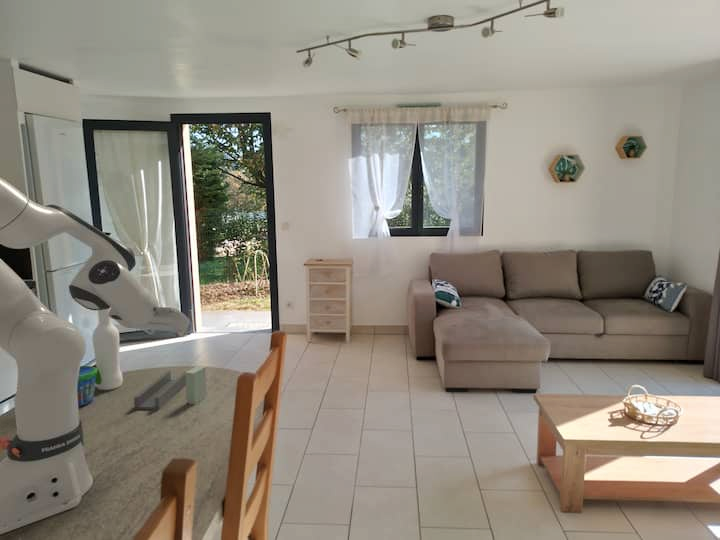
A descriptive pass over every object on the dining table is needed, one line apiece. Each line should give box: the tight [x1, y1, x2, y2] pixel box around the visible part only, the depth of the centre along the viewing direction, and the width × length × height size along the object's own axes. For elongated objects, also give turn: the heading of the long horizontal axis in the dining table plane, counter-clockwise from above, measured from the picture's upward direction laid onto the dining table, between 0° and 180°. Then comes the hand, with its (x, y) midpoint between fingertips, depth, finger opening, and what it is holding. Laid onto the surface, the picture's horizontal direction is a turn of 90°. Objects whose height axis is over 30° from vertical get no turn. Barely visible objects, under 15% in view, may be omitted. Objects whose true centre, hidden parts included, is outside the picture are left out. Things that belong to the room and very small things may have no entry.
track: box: [133, 371, 186, 411], centre depth 154 cm, size 22×7×4 cm, turn 177°
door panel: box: [184, 365, 208, 405], centre depth 150 cm, size 6×3×10 cm, turn 163°
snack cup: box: [77, 365, 102, 407], centre depth 147 cm, size 16×10×10 cm
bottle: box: [91, 307, 124, 391], centre depth 159 cm, size 8×8×30 cm
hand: (166, 333), depth 135 cm, fingers open, 8 cm apart
